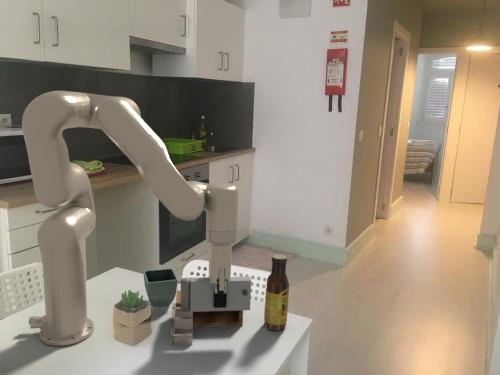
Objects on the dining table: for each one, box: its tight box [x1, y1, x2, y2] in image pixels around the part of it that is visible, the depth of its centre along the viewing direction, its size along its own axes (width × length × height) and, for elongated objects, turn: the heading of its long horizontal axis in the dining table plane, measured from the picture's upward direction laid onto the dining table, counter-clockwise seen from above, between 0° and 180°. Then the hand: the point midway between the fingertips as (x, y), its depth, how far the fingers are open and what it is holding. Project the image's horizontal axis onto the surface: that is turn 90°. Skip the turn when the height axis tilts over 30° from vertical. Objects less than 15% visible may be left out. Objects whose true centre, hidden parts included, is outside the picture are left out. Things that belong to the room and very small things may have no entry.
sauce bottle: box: [263, 253, 290, 332], centre depth 112 cm, size 6×6×20 cm
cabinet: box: [175, 289, 244, 328], centre depth 115 cm, size 18×8×7 cm, turn 97°
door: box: [180, 276, 252, 312], centre depth 104 cm, size 17×3×8 cm, turn 97°
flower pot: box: [143, 267, 179, 308], centre depth 123 cm, size 9×9×9 cm
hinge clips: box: [170, 302, 194, 346], centre depth 106 cm, size 5×8×7 cm, turn 7°
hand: (219, 303), depth 105 cm, fingers closed on door, 2 cm apart
